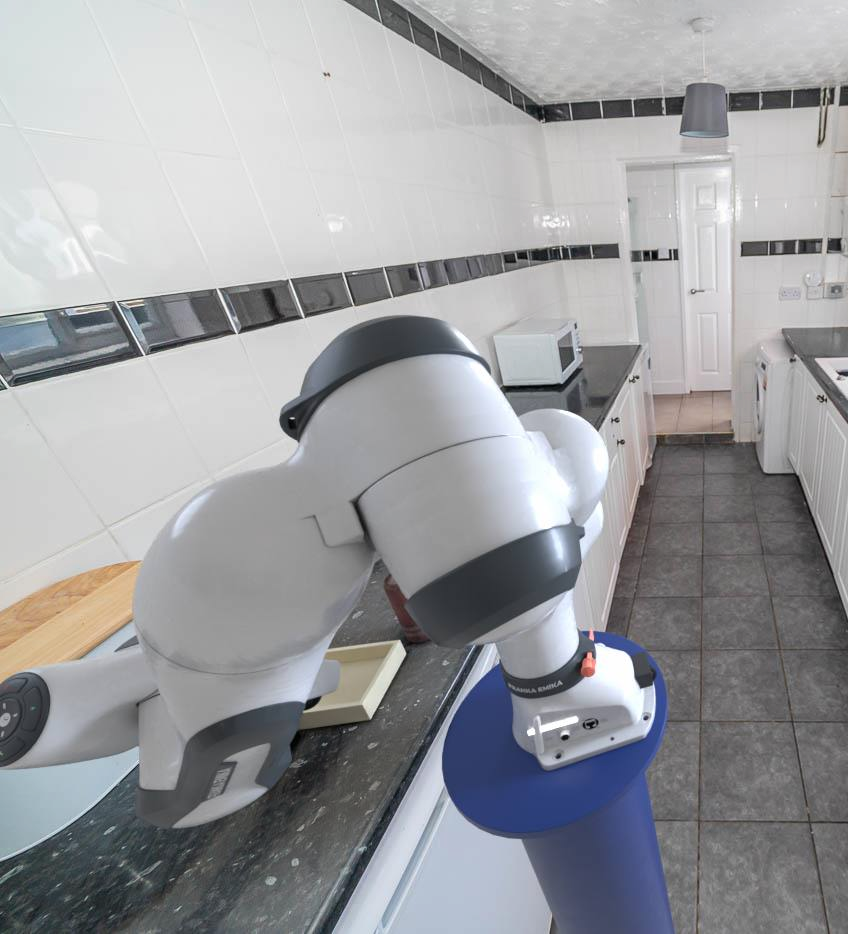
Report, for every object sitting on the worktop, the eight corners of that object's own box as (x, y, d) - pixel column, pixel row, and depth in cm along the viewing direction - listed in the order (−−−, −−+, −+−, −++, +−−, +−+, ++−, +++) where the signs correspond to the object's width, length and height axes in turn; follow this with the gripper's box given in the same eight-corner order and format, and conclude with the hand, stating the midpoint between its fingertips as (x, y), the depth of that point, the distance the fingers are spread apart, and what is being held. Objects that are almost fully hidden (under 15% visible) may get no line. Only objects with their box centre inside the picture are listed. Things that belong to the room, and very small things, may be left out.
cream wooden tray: (406, 653, 90) (400, 639, 88) (370, 719, 77) (362, 704, 76) (318, 665, 88) (309, 651, 87) (267, 734, 76) (256, 719, 75)
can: (427, 617, 98) (404, 561, 92) (448, 625, 95) (426, 569, 89) (399, 638, 93) (372, 581, 87) (421, 648, 90) (395, 589, 84)
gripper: (82, 742, 51) (203, 719, 64) (286, 712, 53) (364, 696, 66) (98, 678, 53) (212, 669, 66) (294, 651, 55) (367, 647, 68)
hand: (289, 682), depth 66 cm, fingers closed
